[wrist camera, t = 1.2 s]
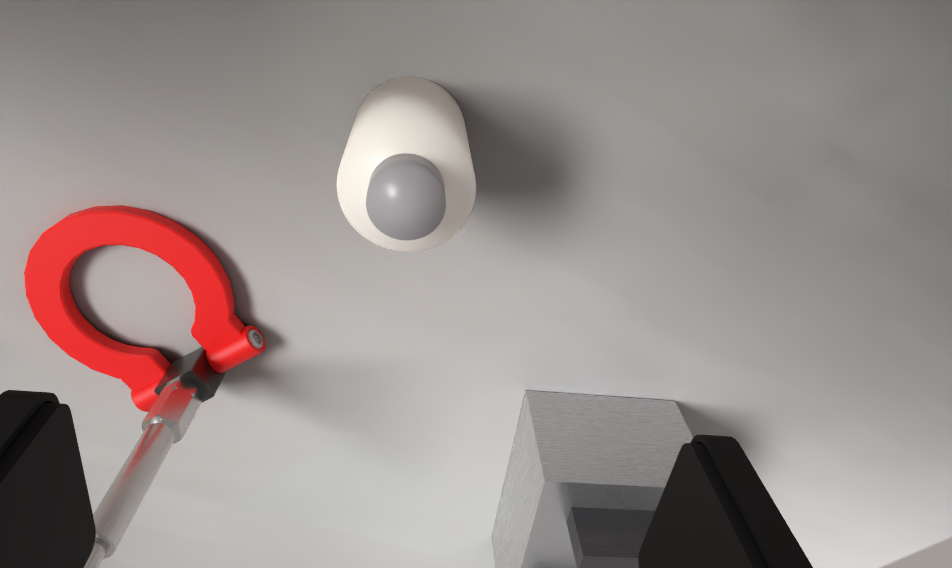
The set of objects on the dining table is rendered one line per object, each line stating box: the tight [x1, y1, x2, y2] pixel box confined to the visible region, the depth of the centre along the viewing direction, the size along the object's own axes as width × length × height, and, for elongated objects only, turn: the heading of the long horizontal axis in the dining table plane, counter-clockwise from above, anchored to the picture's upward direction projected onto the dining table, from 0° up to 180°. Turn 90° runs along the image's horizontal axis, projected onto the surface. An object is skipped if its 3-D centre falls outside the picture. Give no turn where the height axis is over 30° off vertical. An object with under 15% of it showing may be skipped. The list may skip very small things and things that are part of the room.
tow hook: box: [24, 205, 265, 568], centre depth 23 cm, size 8×13×9 cm
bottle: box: [337, 77, 476, 251], centre depth 22 cm, size 4×4×7 cm
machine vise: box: [492, 391, 693, 568], centre depth 33 cm, size 13×8×8 cm, turn 172°
